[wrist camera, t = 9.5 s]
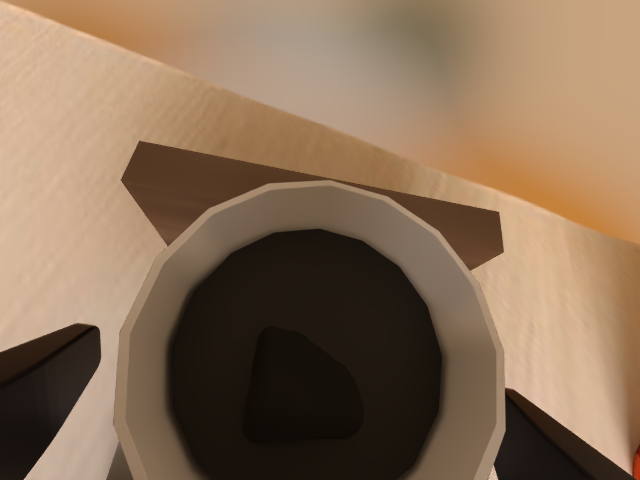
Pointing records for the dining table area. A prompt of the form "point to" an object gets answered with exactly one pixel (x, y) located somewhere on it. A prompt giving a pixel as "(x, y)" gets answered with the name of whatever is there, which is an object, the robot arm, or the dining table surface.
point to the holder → (241, 177)
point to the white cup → (310, 347)
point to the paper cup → (637, 465)
